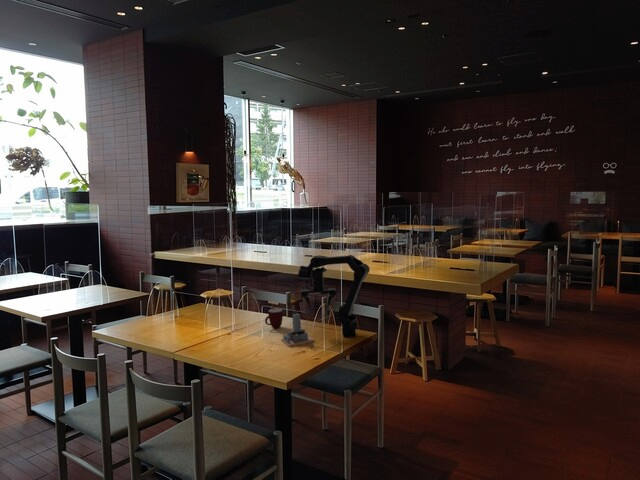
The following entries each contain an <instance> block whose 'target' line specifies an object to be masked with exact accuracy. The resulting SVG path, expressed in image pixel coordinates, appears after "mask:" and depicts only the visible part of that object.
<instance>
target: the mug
mask: <svg viewBox="0 0 640 480" xmlns="http://www.w3.org/2000/svg"><path fill="white" fill-rule="evenodd" d="M267 310H268V312H267V316H266V317H265V318H264V319H265V320H264V322H265V324H266V325H267V326H271V328H272V329H274V330H279V329H280V328H281V326H282V323H283V317H284V313H283V312H284V311H283V309H282V308H280V307H279V308H276V307H275V308H270V309H267ZM268 320H269V323H268Z"/></svg>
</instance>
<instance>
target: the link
mask: <svg viewBox="0 0 640 480" xmlns="http://www.w3.org/2000/svg"><path fill="white" fill-rule="evenodd" d="M291 316H292V330H291V331H287V332H286V335H287V336H289V337H290V341H291V342H293V343H297V342H302V341H306V340H308V336H309V334H308V332H306V329H305V328H302V325H301V314H300V313H293V314H292V315H291ZM297 334H298V335H297Z"/></svg>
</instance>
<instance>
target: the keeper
mask: <svg viewBox="0 0 640 480" xmlns="http://www.w3.org/2000/svg"><path fill="white" fill-rule="evenodd" d="M297 335H298V334H297ZM282 337H283V338H281V340H280V341H281V342H282V343H283V344H285V345H286V346H287V347H289V348H290V347H294V346H299V345H304V344H309V343H313V342H315V339H314V338H313V337H311V336H310V335H308V340H306V341H302V342H297V343H293V342H291V341H290V337H289V336H287V333H283V335H282Z"/></svg>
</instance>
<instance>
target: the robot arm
mask: <svg viewBox="0 0 640 480" xmlns="http://www.w3.org/2000/svg"><path fill="white" fill-rule="evenodd" d="M342 264H345V265H346V264H347V265H348V267H349V268H350V269H351V271H352V272H353V281H352V284H351V287H350V290H349V293H348V295H347V297H346V300H345V303H343V304H341V306H339V307H338V308H339V309H338V312H337V313H336V314H337V318H338V320H339V321H340V324H341V334H342V336H343V337H344V338H349V337H350V338H352V337H353V338H356V337H357V334H356V322H357V321H358V318H357V317H356V315H355V314H354V305H355V303H356V300H357V297H358V294H359V291H360V290H361V287H362V284H363V281H365V279H366V278H367V276H368V274H369V273H370V270H371V269H370V266H369V265H368V264H367V263H364V262H363V260H360V259H358V258H356V257H355V256H354V255H352V254H349V255H340V256H339V255H338V256H336V255H335V256H326V255H319V254H318V255H316V256H313V257H311V258H310V262H309V264H308V265H307V266H306V265H300V266H299V270H298V273H297V274H298V278H299V279H305V280H311V279H312V281H310V282H309V289H312V290H309V289H304V288H303V289H300V297H301V298H303V299H305V300H306V302H307V305H308V307H309V309H312V308H311V307H312V306H311V300H310V296H311V295H327V300H326V308H327V309H328V308H329V306H330V302H331V300H332V299H333V298H334V297H335V296H337V290H336V288H335V287H332V288H331V287H329V288H327V289H325V290H324V288H325V287H324V273H325V272H327V271H328V269H326V268H325V266H328V265H329V266H330V265H342Z"/></svg>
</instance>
